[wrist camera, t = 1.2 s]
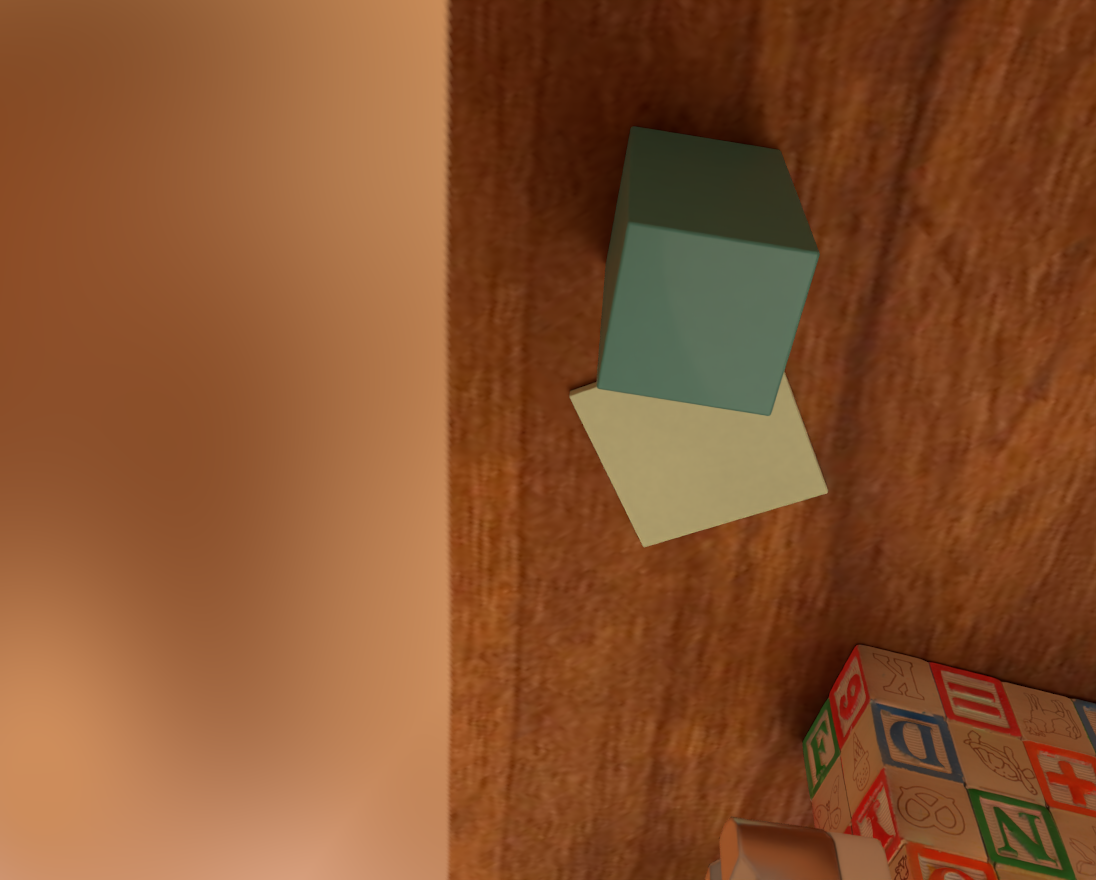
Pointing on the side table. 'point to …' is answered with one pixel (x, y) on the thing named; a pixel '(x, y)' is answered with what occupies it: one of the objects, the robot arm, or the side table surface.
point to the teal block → (703, 273)
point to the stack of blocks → (955, 771)
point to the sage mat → (698, 459)
